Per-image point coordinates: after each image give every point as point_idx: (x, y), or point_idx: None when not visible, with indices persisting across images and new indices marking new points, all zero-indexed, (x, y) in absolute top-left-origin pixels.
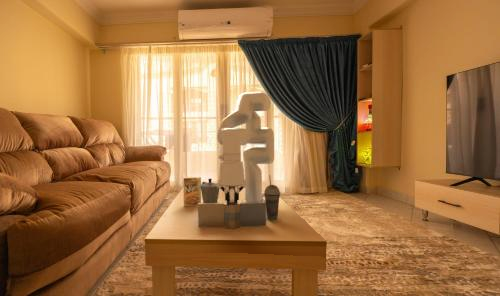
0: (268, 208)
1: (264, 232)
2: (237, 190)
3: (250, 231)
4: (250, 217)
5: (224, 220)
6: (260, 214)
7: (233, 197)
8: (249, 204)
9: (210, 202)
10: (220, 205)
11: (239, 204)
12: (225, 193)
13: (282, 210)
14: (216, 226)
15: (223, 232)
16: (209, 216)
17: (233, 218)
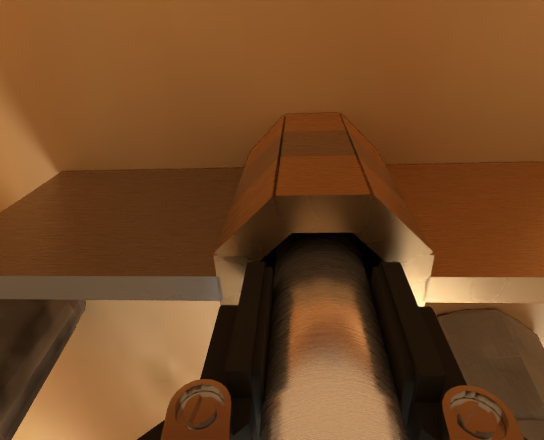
0: (15, 335)
1: (36, 17)
2: (205, 435)
3: (155, 44)
4: (149, 197)
5: (384, 166)
6: (49, 210)
7: (300, 317)
8: (104, 267)
9: (529, 434)
10: (471, 262)
11: (220, 245)
12: (464, 398)
13: (33, 422)
14: (438, 164)
15: (385, 18)
16: (542, 199)
17: (299, 138)
